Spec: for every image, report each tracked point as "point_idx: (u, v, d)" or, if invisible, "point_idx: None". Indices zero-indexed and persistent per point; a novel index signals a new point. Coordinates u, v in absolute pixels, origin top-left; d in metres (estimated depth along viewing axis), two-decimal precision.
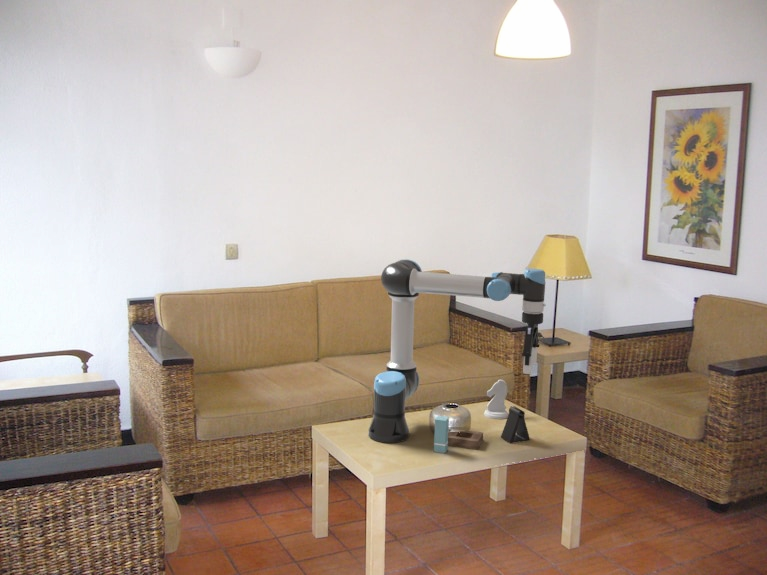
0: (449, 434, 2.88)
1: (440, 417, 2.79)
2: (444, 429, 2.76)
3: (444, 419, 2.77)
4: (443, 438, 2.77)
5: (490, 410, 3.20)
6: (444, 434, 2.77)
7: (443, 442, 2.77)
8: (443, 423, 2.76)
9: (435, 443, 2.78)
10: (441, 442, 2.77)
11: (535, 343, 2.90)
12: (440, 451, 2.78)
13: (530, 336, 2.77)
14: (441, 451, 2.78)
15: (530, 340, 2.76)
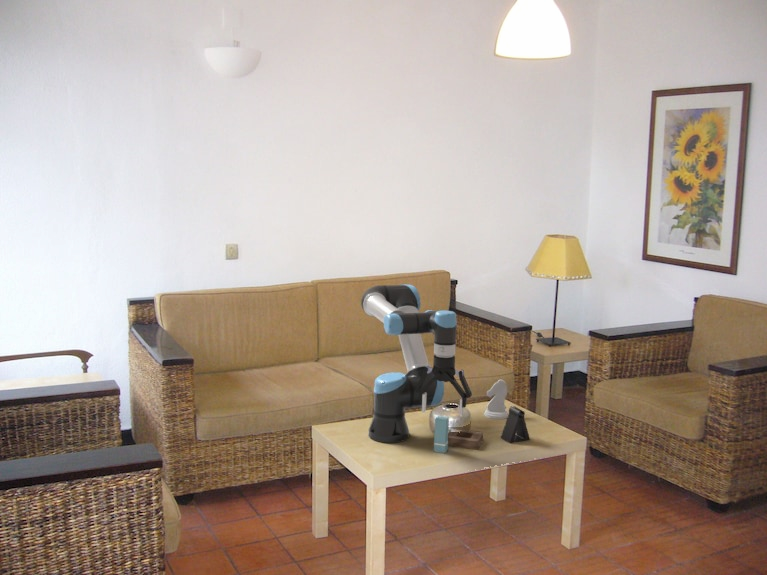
0: (449, 434, 2.88)
1: (440, 417, 2.79)
2: (444, 429, 2.76)
3: (444, 419, 2.77)
4: (443, 438, 2.77)
5: (490, 410, 3.20)
6: (444, 434, 2.77)
7: (443, 442, 2.77)
8: (443, 423, 2.76)
9: (435, 443, 2.78)
10: (441, 442, 2.77)
11: None
12: (440, 451, 2.78)
13: (423, 374, 2.77)
14: (441, 451, 2.78)
15: (421, 377, 2.77)
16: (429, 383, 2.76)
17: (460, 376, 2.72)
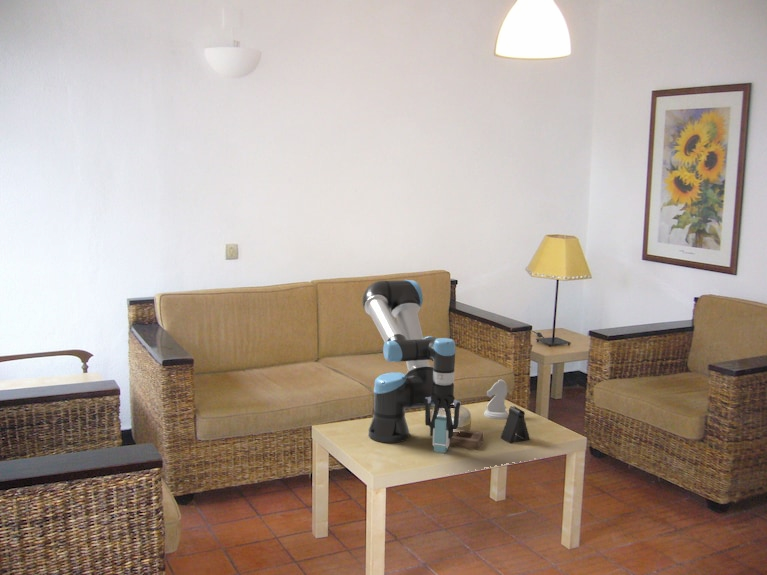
0: None
1: (440, 417, 2.79)
2: (444, 429, 2.76)
3: (444, 419, 2.77)
4: (443, 438, 2.77)
5: (490, 410, 3.20)
6: (444, 434, 2.77)
7: (443, 442, 2.77)
8: (443, 423, 2.76)
9: (435, 443, 2.78)
10: (441, 442, 2.77)
11: None
12: (440, 451, 2.78)
13: None
14: (441, 451, 2.78)
15: None
16: (434, 414, 2.78)
17: (456, 407, 2.75)
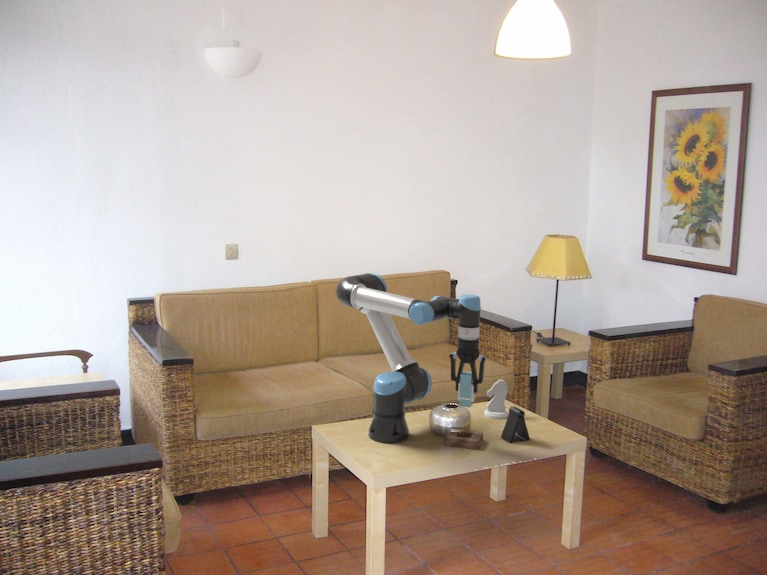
0: (449, 434, 2.88)
1: (465, 372, 2.85)
2: (469, 383, 2.82)
3: (469, 374, 2.83)
4: (468, 392, 2.83)
5: (490, 410, 3.20)
6: (469, 388, 2.83)
7: (468, 396, 2.83)
8: (468, 378, 2.82)
9: (460, 397, 2.84)
10: (466, 396, 2.83)
11: None
12: (465, 405, 2.84)
13: None
14: (466, 405, 2.84)
15: None
16: (460, 369, 2.84)
17: (481, 362, 2.81)
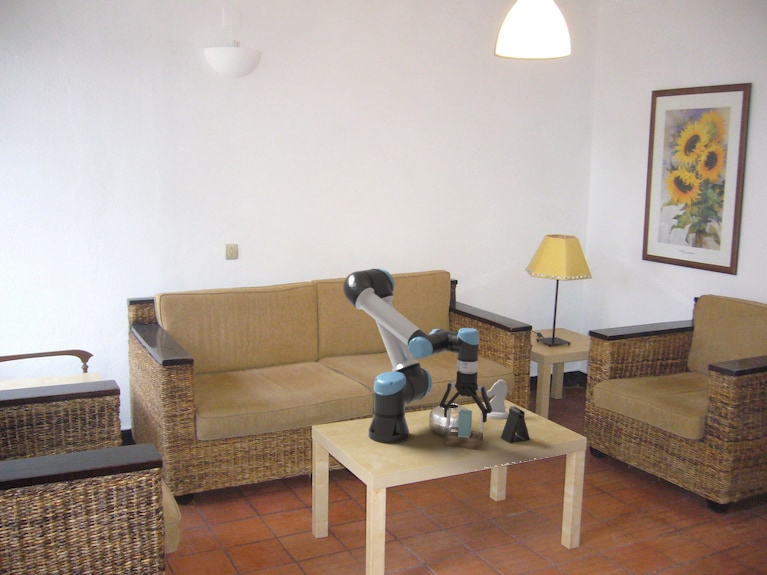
0: (449, 434, 2.88)
1: (463, 410, 2.88)
2: (468, 422, 2.85)
3: (467, 412, 2.86)
4: (467, 430, 2.85)
5: None
6: (468, 426, 2.85)
7: (466, 434, 2.86)
8: (467, 416, 2.85)
9: (459, 435, 2.87)
10: (465, 434, 2.86)
11: None
12: None
13: None
14: None
15: (445, 393, 2.87)
16: (453, 398, 2.86)
17: (482, 392, 2.82)
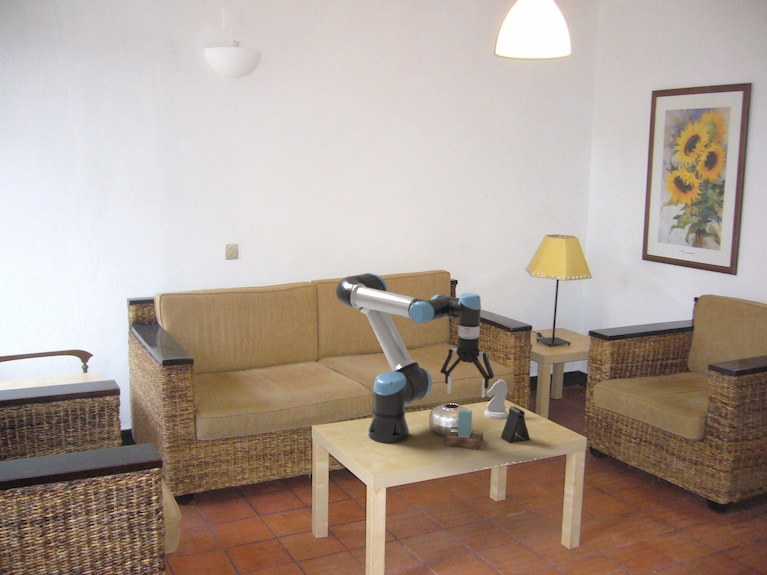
0: (449, 434, 2.88)
1: (463, 410, 2.88)
2: (468, 422, 2.85)
3: (468, 412, 2.86)
4: (467, 430, 2.85)
5: (490, 410, 3.20)
6: (468, 426, 2.85)
7: (467, 434, 2.86)
8: (467, 416, 2.85)
9: (459, 435, 2.87)
10: (465, 434, 2.86)
11: None
12: None
13: (448, 355, 2.85)
14: None
15: (446, 359, 2.85)
16: (454, 364, 2.84)
17: (484, 357, 2.80)
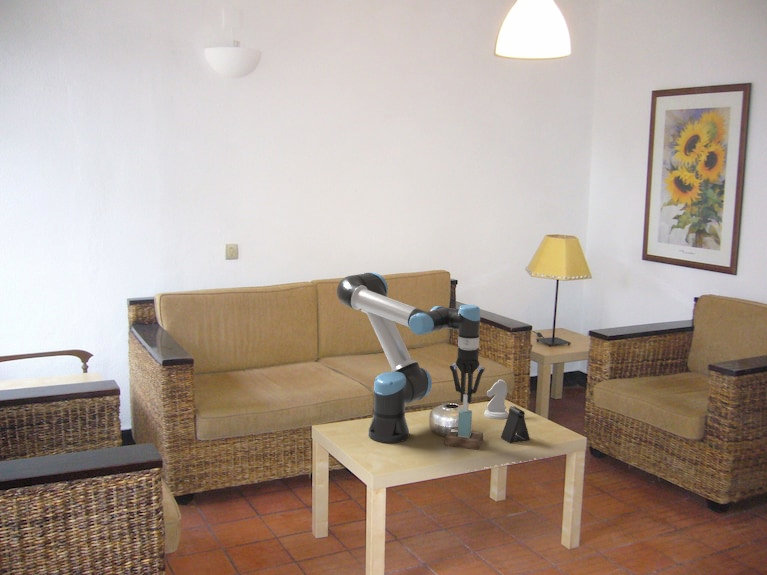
0: (449, 434, 2.88)
1: None
2: (468, 422, 2.85)
3: (467, 412, 2.85)
4: (467, 430, 2.85)
5: (490, 410, 3.20)
6: (468, 427, 2.85)
7: (466, 434, 2.86)
8: (467, 416, 2.85)
9: (459, 435, 2.87)
10: (465, 434, 2.86)
11: None
12: None
13: None
14: None
15: None
16: (462, 379, 2.84)
17: (479, 373, 2.81)
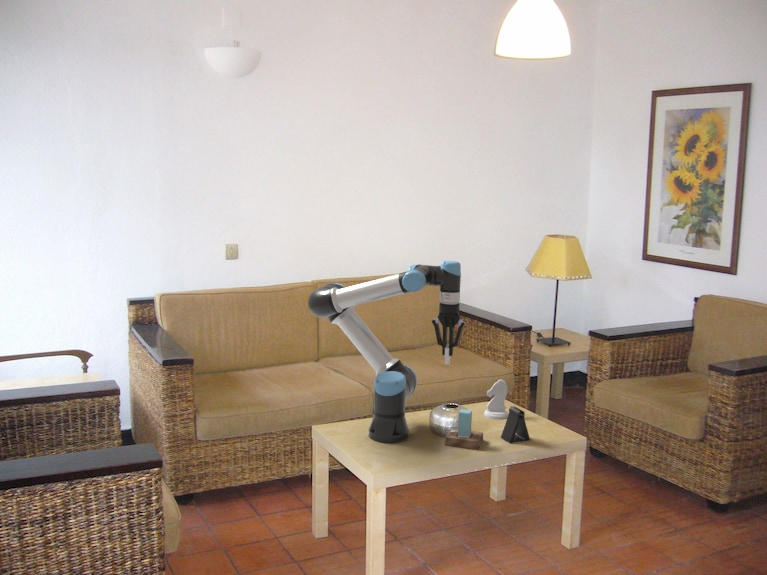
0: (449, 434, 2.88)
1: (463, 410, 2.88)
2: (468, 422, 2.85)
3: (467, 412, 2.86)
4: (467, 430, 2.85)
5: (490, 410, 3.20)
6: (468, 426, 2.85)
7: (466, 434, 2.86)
8: (467, 416, 2.85)
9: (459, 435, 2.87)
10: (465, 434, 2.86)
11: None
12: None
13: None
14: None
15: None
16: (444, 333, 2.94)
17: (460, 326, 2.92)
